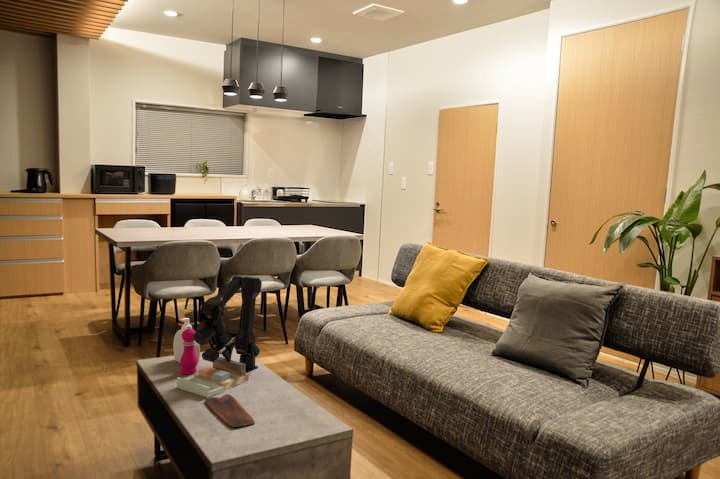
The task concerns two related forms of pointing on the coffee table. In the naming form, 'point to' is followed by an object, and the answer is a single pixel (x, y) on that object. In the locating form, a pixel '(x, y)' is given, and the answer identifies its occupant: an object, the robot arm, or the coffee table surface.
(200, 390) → the tray
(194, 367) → the pepper mill
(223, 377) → the grey square block
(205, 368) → the terracotta tile
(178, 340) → the soap bottle
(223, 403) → the wooden tablet
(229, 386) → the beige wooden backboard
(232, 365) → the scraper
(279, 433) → the coffee table surface
